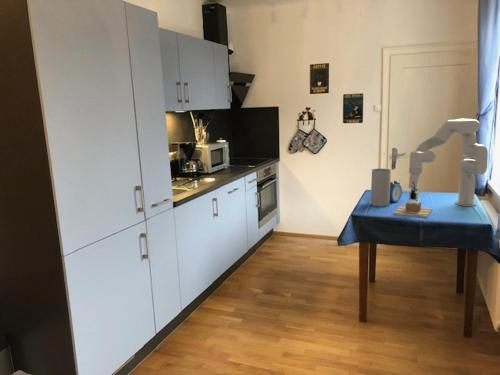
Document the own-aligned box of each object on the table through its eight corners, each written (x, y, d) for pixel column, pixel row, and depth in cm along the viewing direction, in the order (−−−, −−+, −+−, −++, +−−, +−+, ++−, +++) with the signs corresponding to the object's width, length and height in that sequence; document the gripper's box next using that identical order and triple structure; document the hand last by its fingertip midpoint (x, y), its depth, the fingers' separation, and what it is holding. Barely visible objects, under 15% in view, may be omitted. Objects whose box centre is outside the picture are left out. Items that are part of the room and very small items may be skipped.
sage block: (410, 198, 269) (410, 190, 268) (418, 198, 267) (418, 191, 266) (408, 199, 265) (409, 192, 264) (417, 200, 263) (417, 193, 261)
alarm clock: (391, 203, 290) (392, 183, 287) (383, 202, 295) (384, 182, 291) (401, 200, 298) (402, 180, 294) (394, 199, 302) (395, 179, 299)
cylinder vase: (384, 208, 280) (385, 172, 275) (367, 205, 288) (368, 170, 283) (392, 204, 289) (393, 169, 283) (375, 201, 297) (377, 167, 292)
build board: (400, 206, 281) (400, 197, 280) (431, 210, 271) (432, 200, 270) (393, 214, 265) (394, 204, 263) (426, 217, 254) (427, 207, 253)
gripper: (411, 168, 271) (410, 194, 275) (406, 172, 257) (405, 200, 261) (423, 169, 267) (422, 196, 271) (419, 173, 253) (417, 201, 257)
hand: (413, 197), depth 266 cm, fingers closed on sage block, 4 cm apart
